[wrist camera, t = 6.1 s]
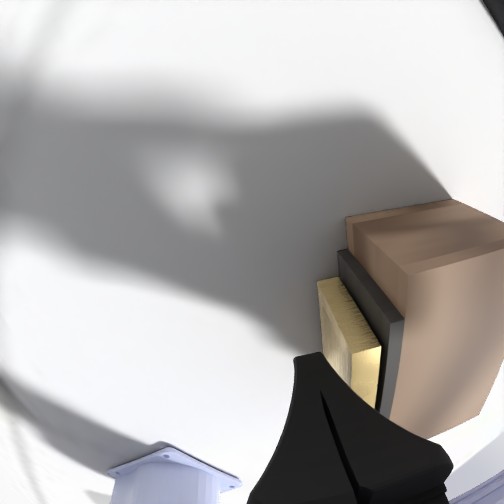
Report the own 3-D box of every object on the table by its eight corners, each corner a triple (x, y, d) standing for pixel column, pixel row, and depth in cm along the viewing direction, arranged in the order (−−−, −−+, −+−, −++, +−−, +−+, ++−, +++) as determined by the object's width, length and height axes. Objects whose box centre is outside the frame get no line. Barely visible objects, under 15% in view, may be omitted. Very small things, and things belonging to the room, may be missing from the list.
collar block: (342, 382, 17) (370, 459, 12) (334, 219, 13) (392, 279, 8) (435, 353, 17) (478, 414, 11) (453, 198, 13) (534, 238, 8)
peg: (323, 362, 16) (348, 437, 11) (316, 281, 14) (351, 354, 9) (446, 327, 15) (491, 381, 11) (457, 248, 13) (520, 295, 9)
